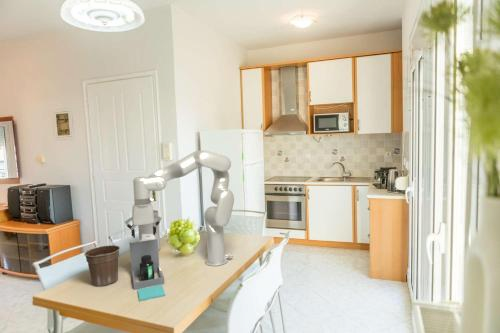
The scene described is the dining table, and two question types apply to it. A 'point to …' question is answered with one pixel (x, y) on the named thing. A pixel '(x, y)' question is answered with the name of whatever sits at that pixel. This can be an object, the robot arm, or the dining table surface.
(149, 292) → the mat
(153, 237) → the ink box
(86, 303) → the dining table surface
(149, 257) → the supplement bottle
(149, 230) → the cylinder vase
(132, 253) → the case
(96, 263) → the plant pot
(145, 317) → the dining table surface
